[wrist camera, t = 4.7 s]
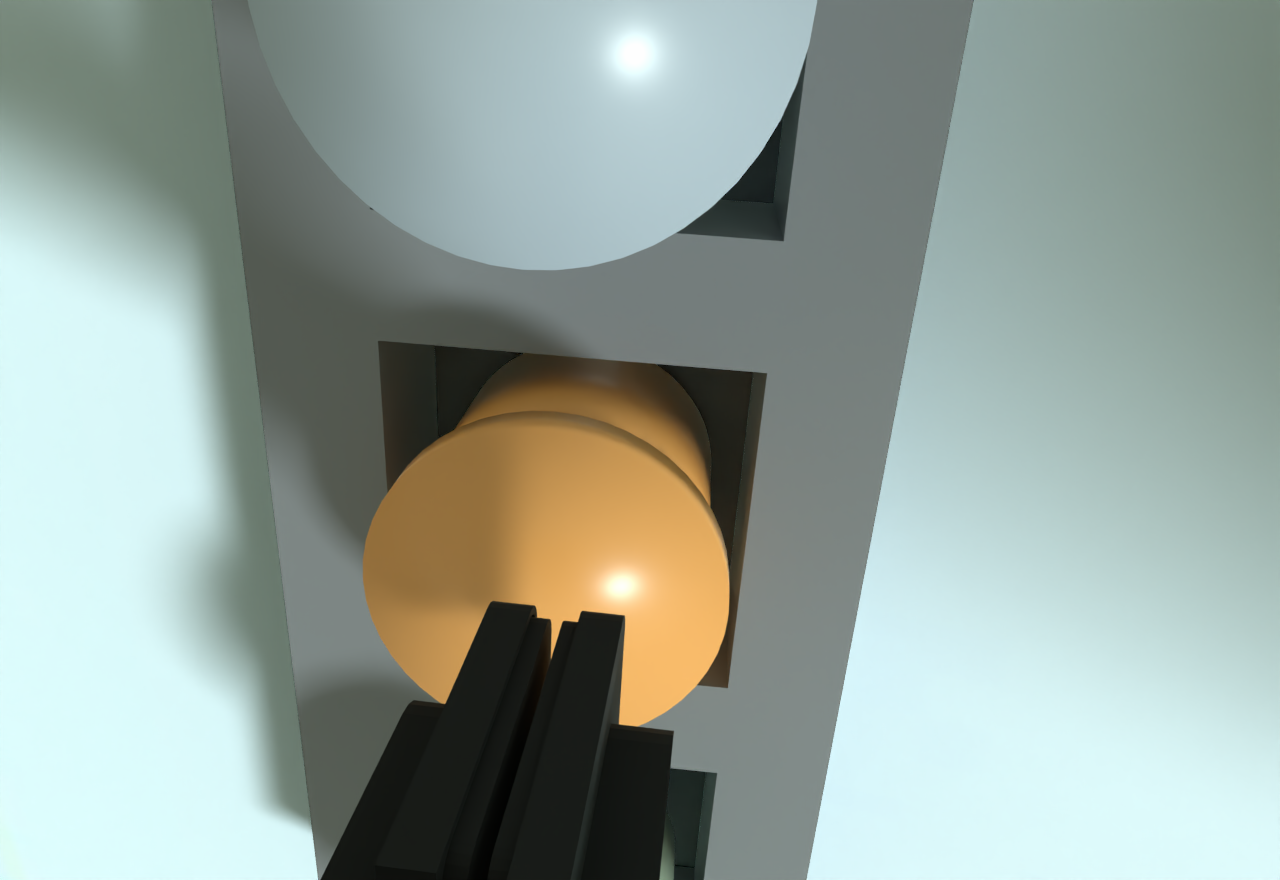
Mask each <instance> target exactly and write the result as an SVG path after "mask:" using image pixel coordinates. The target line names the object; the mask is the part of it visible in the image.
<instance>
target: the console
mask: <svg viewBox="0 0 1280 880" xmlns="http://www.w3.org/2000/svg"><path fill="white" fill-rule="evenodd" d="M973 1H974V0H817V6H816V11H815V16H814V22H813V27H812V32H811V38H810V43H809V47H808V50H807V53H806V56H805V60H804V63H803V66H802V69H801V72H800V76H799V79H798V82H797V85H796V87H795V89H794V91H793V94H792V96H791V98H790V100H789V102H788V105H787V107H786V109H785V111H784V114H783V123H782V131H781V139H780V148H779V156H778V165H777V173H776V182H775V190H774V199H773V203H761V202H748V201H735V200H721V199H720V200H719V201H718V202H717V203H716V204H715V205H713V206H712V207H711V208H710V209H709V210H707V211H706V212H705V213H703V214H702V215H701V216H699V217H698V218H697V219H695V220H694V221H693V222H691V223H690V224H689V225H687V226H686V227H685V228H683V229H682V230H680V231H678V232H676V233H675V234H673V235H671V236H669V237H668V238H666V239H664V240H662V241H661V242H659V243H657V244H655V245H653V246H651V247H648V248H646V249H643V250H641V251H639V252H636V253H634V254H631V255H629V256H626V257H624V258H621V259H617V260H613V261H609V262H605V263H601V264H597V265H593V266H589V267H580V268H572V269H563V270H521V269H514V268H507V267H500V266H494V265H488V264H485V263H481V262H477V261H474V260H470V259H467V258H463V257H459V256H456V255H454V254H452V253H449V252H447V251H444V250H442V249H440V248H437V247H435V246H432V245H430V244H428V243H425V242H424V241H422V240H420V239H418V238H417V237H415V236H413V235H411V234H410V233H408V232H406V231H404V230H402V229H401V228H399V227H397V226H395V225H394V224H393V223H391V222H390V221H389V220H387V219H386V218H385V217H383V216H382V215H380V214H379V213H378V212H376V211H375V210H374V209H372V208H371V207H370V206H368V205H367V204H366V203H365V202H364V201H362V200H361V199H360V198H359V197H358V196H357V195H356V194H355V193H354V192H353V191H352V190H351V189H350V188H348V187H347V186H346V185H345V184H344V183H343V182H342V181H341V180H340V179H339V178H338V177H337V176H336V174H335V173H334V172H333V171H332V170H331V169H330V167H329V166H328V165H327V164H326V163H325V162H324V160H323V159H322V158H321V157H320V156H319V155H318V154H317V152H316V151H315V150H314V148H313V147H312V145H311V144H310V142H309V141H308V140H307V138H306V137H305V135H304V134H303V132H302V131H301V129H300V128H299V126H298V125H297V123H296V122H295V120H294V119H293V117H292V115H291V113H290V112H289V110H288V108H287V106H286V104H285V102H284V100H283V98H282V96H281V95H280V93H279V91H278V89H277V87H276V85H275V83H274V81H273V78H272V76H271V73H270V71H269V68H268V66H267V63H266V61H265V58H264V56H263V53H262V51H261V48H260V45H259V41H258V38H257V34H256V31H255V27H254V24H253V20H252V16H251V13H250V9H249V5H248V0H212V8H213V16H214V24H215V32H216V41H217V49H218V57H219V65H220V74H221V82H222V90H223V98H224V107H225V115H226V123H227V131H228V140H229V148H230V156H231V164H232V172H233V181H234V189H235V197H236V205H237V214H238V222H239V230H240V238H241V247H242V255H243V263H244V271H245V280H246V288H247V296H248V304H249V313H250V321H251V329H252V337H253V346H254V354H255V362H256V370H257V379H258V387H259V395H260V403H261V412H262V420H263V428H264V436H265V445H266V453H267V461H268V469H269V478H270V486H271V494H272V502H273V511H274V519H275V527H276V535H277V544H278V552H279V560H280V568H281V577H282V585H283V593H284V601H285V609H286V618H287V626H288V634H289V642H290V651H291V659H292V667H293V675H294V684H295V692H296V700H297V708H298V717H299V725H300V733H301V741H302V750H303V758H304V766H305V774H306V783H307V791H308V799H309V807H310V816H311V824H312V832H313V840H314V849H315V857H316V865H317V873H318V880H320V879H321V877H322V875H323V873H324V871H325V869H326V867H327V865H328V863H329V861H330V859H331V857H332V855H333V853H334V851H335V849H336V847H337V845H338V843H339V841H340V839H341V837H342V835H343V833H344V831H345V829H346V827H347V825H348V823H349V821H350V819H351V817H352V815H353V813H354V811H355V809H356V807H357V805H358V802H359V800H360V798H361V796H362V794H363V792H364V790H365V788H366V786H367V784H368V782H369V780H370V778H371V776H372V774H373V772H374V770H375V768H376V766H377V764H378V762H379V760H380V758H381V756H382V754H383V752H384V750H385V748H386V746H387V744H388V742H389V740H390V738H391V736H392V734H393V732H394V730H395V728H396V726H397V724H398V722H399V720H400V718H401V716H402V713H403V712H404V710H405V709H406V707H407V705H408V704H409V703H410V702H412V701H413V700H417V701H425V702H434V703H440V702H438V701H437V700H436V699H434V698H433V697H432V696H431V695H429V694H428V693H427V692H425V691H424V690H423V689H422V688H420V687H419V686H418V685H417V684H416V683H415V682H414V681H413V680H412V679H411V678H410V677H409V676H408V675H407V674H406V673H405V672H404V671H403V669H402V668H401V667H400V666H399V664H398V663H397V662H396V661H395V659H394V658H393V657H392V656H391V654H390V652H389V651H388V649H387V648H386V646H385V644H384V643H383V641H382V640H381V638H380V636H379V634H378V632H377V629H376V627H375V625H374V623H373V621H372V618H371V615H370V611H369V608H368V605H367V602H366V597H365V590H364V584H363V555H364V549H365V542H366V538H367V535H368V531H369V528H370V525H371V522H372V519H373V517H374V515H375V514H376V512H377V510H378V508H379V506H380V504H381V502H382V500H383V499H384V497H385V496H386V495H387V493H388V492H389V490H390V489H391V488H392V486H393V485H394V483H395V482H396V480H397V479H398V478H399V476H400V475H401V474H402V472H403V471H404V470H405V468H406V467H407V465H408V464H409V463H410V462H411V461H412V460H413V459H414V458H415V457H416V456H417V455H418V454H419V453H420V452H421V451H422V450H424V449H425V448H426V447H428V446H429V445H431V444H432V443H433V442H435V441H436V440H437V439H438V420H437V392H436V363H435V345H437V346H449V347H461V348H472V349H484V350H496V351H508V352H520V353H532V354H544V355H556V356H568V357H580V358H592V359H604V360H616V361H628V362H640V363H652V364H664V365H675V366H687V367H699V368H711V369H723V370H735V371H747V372H753V377H752V385H751V394H750V402H749V411H748V419H747V428H746V436H745V445H744V453H743V461H742V470H741V478H740V487H739V495H738V504H737V512H736V521H735V529H734V538H733V546H732V555H731V563H730V572H729V615H728V620H727V625H726V630H725V635H724V638H723V640H722V643H721V646H720V648H719V651H718V654H717V656H716V657H715V659H714V661H713V663H712V664H711V666H710V668H709V670H708V671H707V673H706V674H705V675H704V677H703V678H702V679H701V680H700V682H699V683H698V684H697V686H696V687H695V688H694V689H693V690H692V691H691V692H690V693H689V694H688V695H687V696H685V697H684V698H683V699H682V700H681V701H680V702H679V703H677V704H676V705H675V706H673V707H672V708H671V709H669V710H668V711H666V712H665V713H663V714H662V715H660V716H658V717H656V718H654V719H652V720H651V721H649V722H647V723H645V724H642V725H640V726H637V727H646V728H654V729H663V730H671V731H674V736H673V746H672V757H671V767H670V768H674V769H683V770H693V771H702V772H706V775H705V783H704V792H703V800H702V809H701V817H700V826H699V834H698V843H697V851H696V860H695V868H690V867H680V866H674V880H806V879H807V873H808V868H809V863H810V858H811V852H812V847H813V842H814V837H815V831H816V826H817V821H818V816H819V810H820V805H821V800H822V795H823V789H824V784H825V779H826V774H827V768H828V763H829V758H830V752H831V747H832V742H833V737H834V731H835V726H836V721H837V716H838V710H839V705H840V700H841V695H842V689H843V684H844V679H845V674H846V668H847V663H848V658H849V653H850V647H851V642H852V637H853V632H854V626H855V621H856V616H857V611H858V605H859V600H860V595H861V590H862V584H863V579H864V574H865V569H866V563H867V558H868V553H869V547H870V542H871V537H872V532H873V526H874V521H875V516H876V511H877V505H878V500H879V495H880V490H881V484H882V479H883V474H884V469H885V463H886V458H887V453H888V448H889V442H890V437H891V432H892V427H893V421H894V416H895V411H896V406H897V400H898V395H899V390H900V385H901V379H902V374H903V369H904V364H905V358H906V353H907V348H908V342H909V337H910V332H911V327H912V321H913V316H914V311H915V306H916V300H917V295H918V290H919V285H920V279H921V274H922V269H923V264H924V258H925V253H926V248H927V243H928V237H929V232H930V227H931V222H932V216H933V211H934V206H935V201H936V195H937V190H938V185H939V180H940V174H941V169H942V164H943V158H944V153H945V148H946V143H947V137H948V132H949V127H950V122H951V116H952V111H953V106H954V101H955V95H956V90H957V85H958V80H959V74H960V69H961V64H962V59H963V53H964V48H965V43H966V38H967V32H968V27H969V22H970V17H971V11H972V6H973Z"/></svg>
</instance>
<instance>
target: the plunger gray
mask: <svg viewBox="0 0 1280 880" xmlns="http://www.w3.org/2000/svg"><path fill="white" fill-rule="evenodd" d="M248 5H249V9H250V13H251V16H252V20H253V24H254V27H255V31H256V34H257V38H258V41H259V45H260V48H261V51H262V53H263V56H264V58H265V61H266V63H267V66H268V68H269V71H270V73H271V76H272V78H273V81H274V83H275V85H276V87H277V89H278V91H279V93H280V95H281V96H282V98H283V100H284V102H285V104H286V106H287V108H288V110H289V112H290V113H291V115H292V117H293V119H294V120H295V122H296V123H297V125H298V126H299V128H300V129H301V131H302V132H303V134H304V135H305V137H306V138H307V140H308V141H309V142H310V144H311V145H312V147H313V148H314V150H315V151H316V152H317V154H318V155H319V156H320V157H321V158H322V159H323V160H324V162H325V163H326V164H327V165H328V166H329V167H330V169H331V170H332V171H333V172H334V173H335V174H336V176H337V177H338V178H339V179H340V180H341V181H342V182H343V183H344V184H345V185H346V186H347V187H348V188H350V189H351V190H352V191H353V192H354V193H355V194H356V195H357V196H358V197H359V198H360V199H361V200H362V201H364V202H365V203H366V204H367V205H368V206H370V207H371V208H372V209H374V210H375V211H376V212H378V213H379V214H380V215H382V216H383V217H385V218H386V219H387V220H389V221H390V222H391V223H393V224H394V225H395V226H397V227H399V228H401V229H402V230H404V231H406V232H408V233H410V234H411V235H413V236H415V237H417V238H418V239H420V240H422V241H424V242H425V243H428V244H430V245H432V246H435V247H437V248H440V249H442V250H444V251H447V252H449V253H452V254H454V255H456V256H459V257H463V258H467V259H470V260H474V261H477V262H481V263H485V264H488V265H494V266H500V267H507V268H514V269H521V270H563V269H572V268H580V267H589V266H593V265H597V264H601V263H605V262H609V261H613V260H617V259H621V258H624V257H626V256H629V255H631V254H634V253H636V252H639V251H641V250H643V249H646V248H648V247H651V246H653V245H655V244H657V243H659V242H661V241H662V240H664V239H666V238H668V237H669V236H671V235H673V234H675V233H676V232H678V231H680V230H682V229H683V228H685V227H686V226H687V225H689V224H690V223H691V222H693V221H694V220H695V219H697V218H698V217H699V216H701V215H702V214H703V213H705V212H706V211H707V210H709V209H710V208H711V207H712V206H713V205H715V204H716V203H717V202H718V201H719V200H720V199H721V198H722V197H723V196H724V195H725V194H726V193H727V192H728V191H729V190H730V189H731V188H732V187H733V186H734V185H735V184H736V183H737V182H738V181H739V179H740V178H741V177H742V176H743V174H744V173H745V172H746V171H747V169H748V168H749V167H750V166H751V164H752V163H753V162H754V161H755V159H756V158H757V157H758V156H759V154H760V153H761V151H762V150H763V148H764V146H765V145H766V143H767V142H768V140H769V138H770V137H771V135H772V133H773V132H774V130H775V128H776V127H777V125H778V123H779V122H780V120H781V118H782V116H783V114H784V111H785V109H786V107H787V105H788V102H789V100H790V98H791V96H792V94H793V91H794V89H795V87H796V85H797V82H798V79H799V76H800V72H801V69H802V66H803V63H804V60H805V56H806V53H807V50H808V47H809V43H810V38H811V32H812V27H813V22H814V16H815V11H816V6H817V0H248Z"/></svg>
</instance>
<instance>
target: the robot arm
mask: <svg viewBox="0 0 1280 880" xmlns="http://www.w3.org/2000/svg"><path fill="white" fill-rule="evenodd" d="M551 634H552V624H551V620H550V619H546V618H537V609H536V607H535V605H526V604H517V603H508V602H499V601H492V602H490V604H489V606H488V608H487V610H486V612H485V614H484V617H483V619H482V621H481V624H480V626H479V628H478V630H477V633H476V635H475V637H474V640H473V642H472V644H471V646H470V649H469V651H468V653H467V656H466V658H465V660H464V662H463V665H462V667H461V669H460V672H459V674H458V676H457V678H456V681H455V683H454V685H453V687H452V690H451V692H450V694H449V697H448V699H447V701H446V703H445V704H442V703H434V702H425V701H417V700H413V701H412V702H410V703H409V704H408V705H407V707H406V709H405V710H404V712H403V713H402V716H401V718H400V720H399V722H398V724H397V726H396V728H395V730H394V732H393V734H392V736H391V738H390V740H389V742H388V744H387V746H386V748H385V750H384V752H383V754H382V756H381V758H380V760H379V762H378V764H377V766H376V768H375V770H374V772H373V774H372V776H371V778H370V780H369V782H368V784H367V786H366V788H365V790H364V792H363V794H362V796H361V798H360V800H359V802H358V805H357V807H356V809H355V811H354V813H353V815H352V817H351V819H350V821H349V823H348V825H347V827H346V829H345V831H344V833H343V835H342V837H341V839H340V841H339V843H338V845H337V847H336V849H335V851H334V853H333V855H332V857H331V859H330V861H329V863H328V865H327V867H326V869H325V871H324V873H323V875H322V877H321V879H320V880H660V870H661V860H662V849H663V839H664V829H665V819H666V808H667V798H668V788H669V777H670V767H671V757H672V746H673V736H674V731H671V730H663V729H654V728H646V727H637V726H629V725H620V724H619V713H620V698H621V682H622V667H623V651H624V636H625V615H617V614H608V613H599V612H589V611H582V612H581V613H580V616H579V620H578V622H573V621H563V622H562V625H561V628H560V631H559V635H558V638H557V641H556V645H555V648H554V651H553V655H552V658H551Z"/></svg>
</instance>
